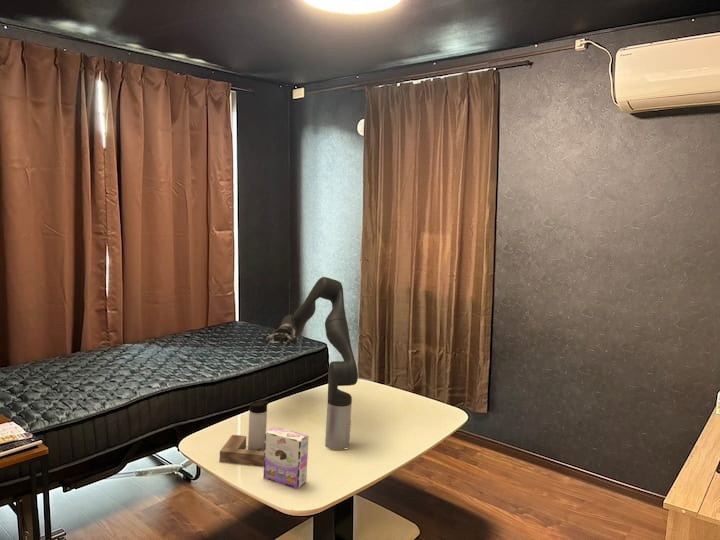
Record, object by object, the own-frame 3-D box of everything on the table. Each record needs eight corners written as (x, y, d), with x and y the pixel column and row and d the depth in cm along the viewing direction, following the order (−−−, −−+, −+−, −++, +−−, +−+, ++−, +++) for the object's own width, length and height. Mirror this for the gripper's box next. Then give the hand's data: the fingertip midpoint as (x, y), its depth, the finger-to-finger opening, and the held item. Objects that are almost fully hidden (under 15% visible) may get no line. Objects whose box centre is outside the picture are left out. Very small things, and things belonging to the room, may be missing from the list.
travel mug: (262, 459, 195) (264, 405, 193) (244, 456, 196) (247, 403, 194) (268, 451, 201) (270, 399, 199) (251, 449, 202) (253, 397, 200)
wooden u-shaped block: (289, 450, 203) (289, 440, 203) (281, 468, 189) (281, 457, 189) (231, 444, 205) (232, 434, 204) (219, 462, 191) (219, 451, 190)
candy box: (307, 482, 181) (309, 434, 179) (297, 489, 176) (300, 441, 174) (272, 471, 187) (274, 425, 185) (262, 478, 181) (264, 431, 179)
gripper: (269, 324, 237) (260, 332, 221) (301, 326, 236) (294, 335, 220) (268, 340, 237) (259, 350, 221) (300, 343, 237) (293, 353, 221)
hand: (277, 343), depth 221 cm, fingers open, 8 cm apart
